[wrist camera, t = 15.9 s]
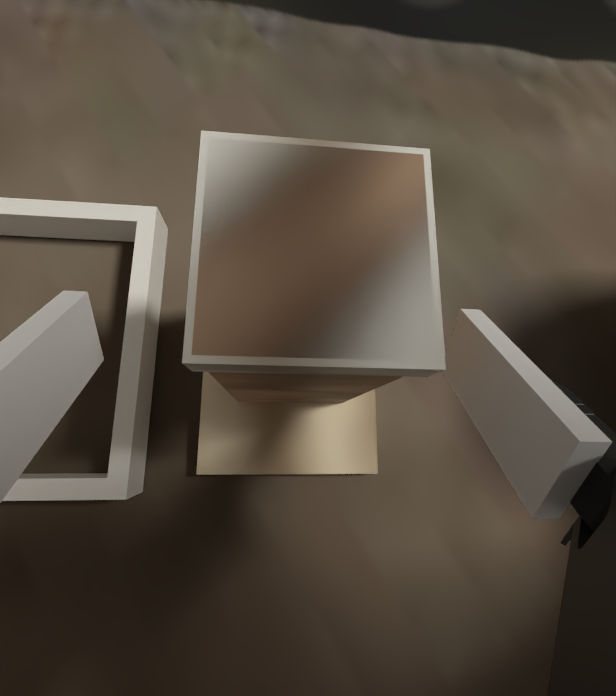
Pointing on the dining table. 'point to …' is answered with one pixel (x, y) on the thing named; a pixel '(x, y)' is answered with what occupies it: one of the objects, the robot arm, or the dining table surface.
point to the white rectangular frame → (137, 342)
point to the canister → (312, 268)
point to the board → (285, 435)
